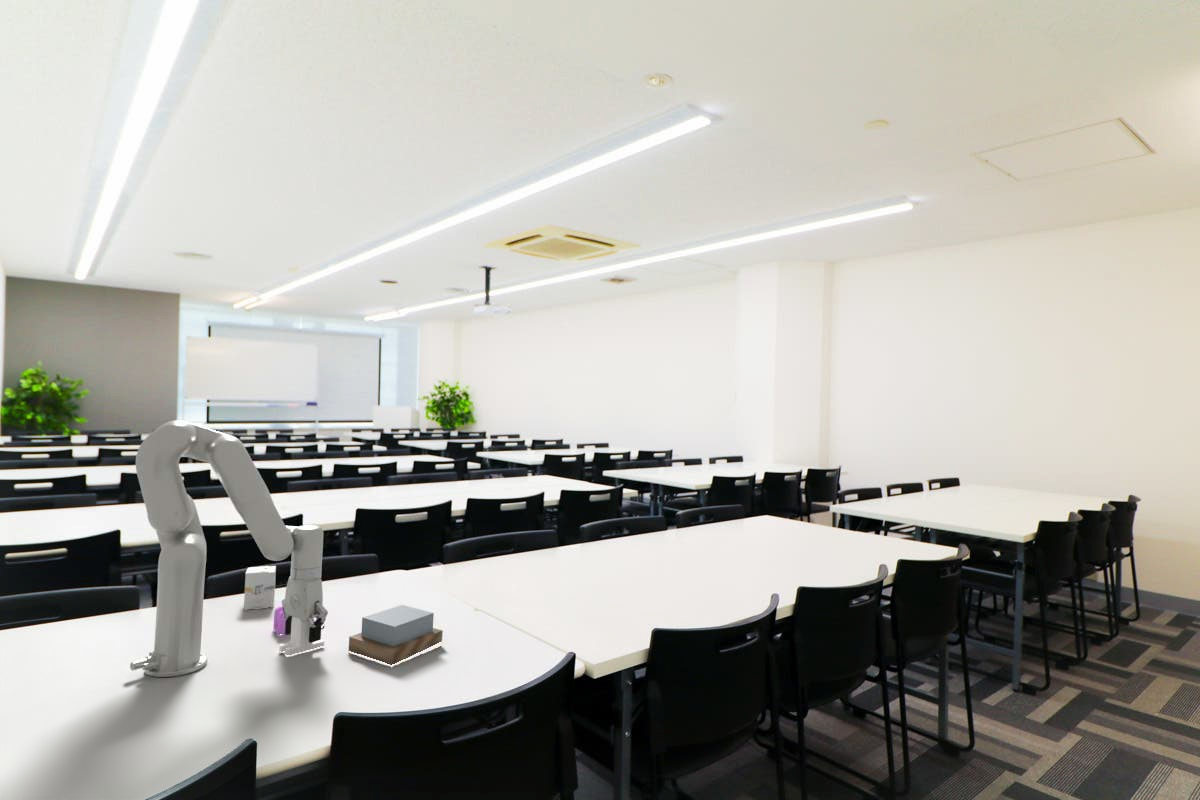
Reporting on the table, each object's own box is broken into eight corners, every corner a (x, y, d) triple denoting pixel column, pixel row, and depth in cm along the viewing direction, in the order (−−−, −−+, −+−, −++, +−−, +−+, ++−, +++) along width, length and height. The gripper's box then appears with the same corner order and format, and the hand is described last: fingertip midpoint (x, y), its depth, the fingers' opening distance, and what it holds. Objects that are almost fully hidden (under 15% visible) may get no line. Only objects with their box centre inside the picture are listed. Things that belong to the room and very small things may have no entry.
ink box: (245, 602, 206) (247, 566, 206) (274, 600, 210) (276, 564, 210) (242, 610, 198) (245, 573, 199) (273, 608, 202) (275, 571, 202)
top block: (393, 646, 163) (394, 626, 163) (361, 636, 169) (362, 617, 169) (432, 631, 175) (433, 612, 175) (401, 622, 181) (402, 604, 181)
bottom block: (391, 670, 160) (392, 650, 160) (348, 655, 168) (349, 636, 168) (441, 648, 176) (442, 630, 176) (400, 636, 184) (401, 619, 184)
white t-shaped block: (278, 652, 167) (280, 614, 167) (315, 642, 175) (317, 606, 175) (287, 657, 164) (289, 618, 164) (324, 648, 171) (326, 610, 172)
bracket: (278, 636, 178) (279, 611, 178) (273, 630, 183) (274, 606, 183) (326, 628, 187) (327, 604, 187) (320, 622, 191) (322, 599, 191)
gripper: (272, 570, 171) (269, 634, 170) (315, 581, 162) (311, 648, 162) (297, 565, 177) (294, 627, 177) (339, 575, 169) (336, 640, 168)
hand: (302, 637), depth 169 cm, fingers open, 9 cm apart
